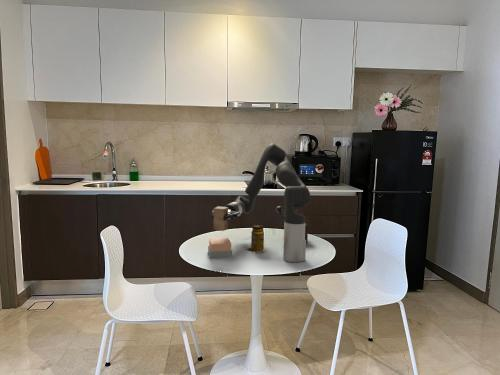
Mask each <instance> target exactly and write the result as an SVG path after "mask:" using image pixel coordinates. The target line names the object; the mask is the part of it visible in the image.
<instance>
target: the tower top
mask: <svg viewBox="0 0 500 375" xmlns="http://www.w3.org/2000/svg"><path fill="white" fill-rule="evenodd" d="M208 240H209V241H208V242H209V243H208V246H209V247H210V249H211V252H220V251H231V249H232V242H231V241H230V239H229V237H227V238H226V237H224V238H223V237H222V238H220V237H219V238H209V239H208Z"/></svg>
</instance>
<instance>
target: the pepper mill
mask: <svg viewBox="0 0 500 375" xmlns="http://www.w3.org/2000/svg"><path fill="white" fill-rule="evenodd" d="M283 209H284V208H283V206H282V205H278V206H276V208H275V211H276V212H277V215H278V216H280V217H283V218H285V217H284V215H283V214H284V212H283V211H284V210H283ZM294 211H295V212H296V213H298V212H299V211H298V209H296V210H294ZM308 235H309V225H308V224H307V223H305V240H306V244H307V243H308V237H309V236H308Z"/></svg>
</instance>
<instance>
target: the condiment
mask: <svg viewBox="0 0 500 375" xmlns="http://www.w3.org/2000/svg"><path fill="white" fill-rule="evenodd" d="M250 238H251V239H250V240H251V242H250V243H251V244H250V245H251V246H250V247H248V248H247V247H246V248H244V250H245V251H247V252H249V253H251V254H256V253H261V252H266V251H267V249H264V248H265V247H264V246H265V243H264V242H265V239H264V238H265V231H264V226H263V225H262V224H253V225H252V230H251V237H250Z"/></svg>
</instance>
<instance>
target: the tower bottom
mask: <svg viewBox="0 0 500 375" xmlns="http://www.w3.org/2000/svg"><path fill="white" fill-rule="evenodd" d="M207 253H208V256H209V258H210V259H226V258H233V249H232V248H231V251H220V252H211V249H210V247H209V245H208V246H207Z"/></svg>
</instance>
